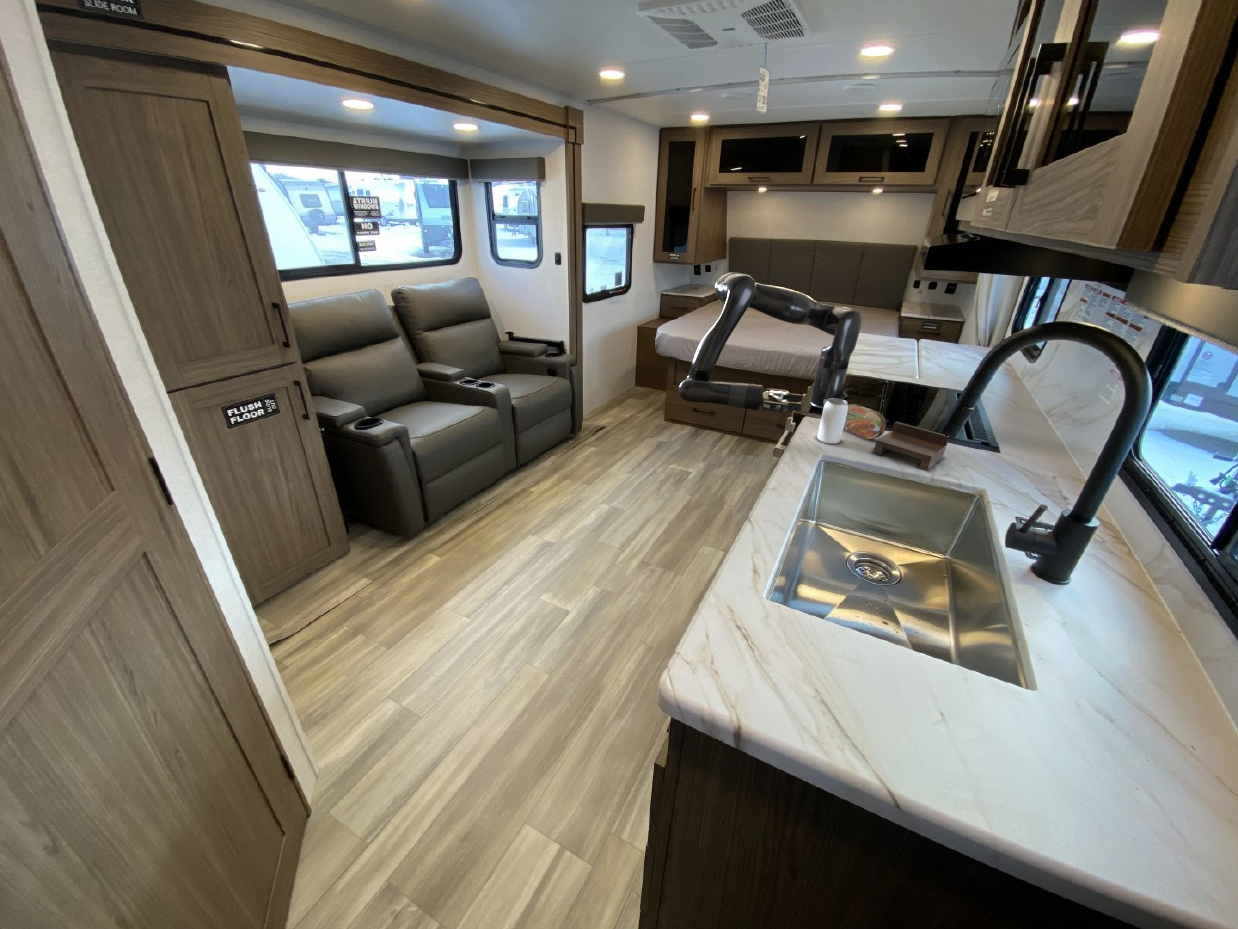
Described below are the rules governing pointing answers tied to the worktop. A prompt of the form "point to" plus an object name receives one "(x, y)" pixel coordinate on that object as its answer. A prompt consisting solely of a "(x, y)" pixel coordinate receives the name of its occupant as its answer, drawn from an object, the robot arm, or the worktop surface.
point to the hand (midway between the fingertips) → (801, 403)
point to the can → (832, 421)
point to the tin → (864, 422)
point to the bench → (914, 443)
